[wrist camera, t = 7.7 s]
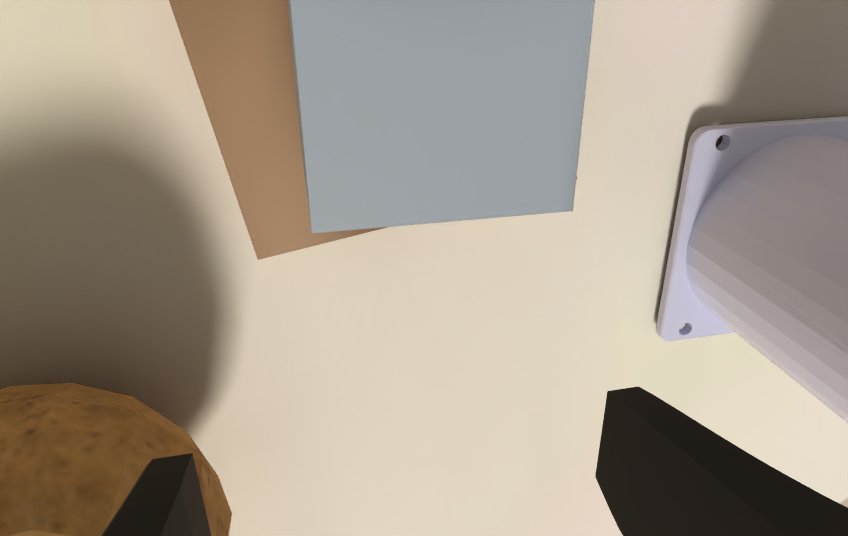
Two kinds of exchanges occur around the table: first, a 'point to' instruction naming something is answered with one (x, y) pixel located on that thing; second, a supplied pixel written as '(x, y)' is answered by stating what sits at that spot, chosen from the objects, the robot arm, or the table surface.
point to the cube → (438, 108)
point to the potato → (85, 459)
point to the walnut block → (254, 114)
